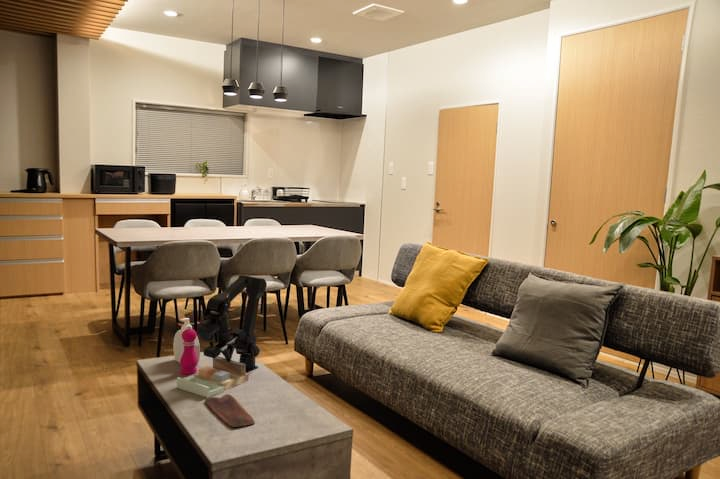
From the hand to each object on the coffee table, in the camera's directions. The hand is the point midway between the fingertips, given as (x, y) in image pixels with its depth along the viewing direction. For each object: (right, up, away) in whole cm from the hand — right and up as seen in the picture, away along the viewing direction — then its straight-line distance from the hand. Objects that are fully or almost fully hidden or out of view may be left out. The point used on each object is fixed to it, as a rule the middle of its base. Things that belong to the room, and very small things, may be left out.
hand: (229, 361), depth 223 cm
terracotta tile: (-8, -5, -4) cm, 10 cm away
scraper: (0, -4, 0) cm, 4 cm away
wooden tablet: (+12, -11, -28) cm, 33 cm away
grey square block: (-1, -5, -8) cm, 10 cm away
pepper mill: (-18, -6, +6) cm, 20 cm away
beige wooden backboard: (-2, -8, -3) cm, 8 cm away
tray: (-8, -8, -12) cm, 17 cm away
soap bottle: (-23, -5, +17) cm, 29 cm away
